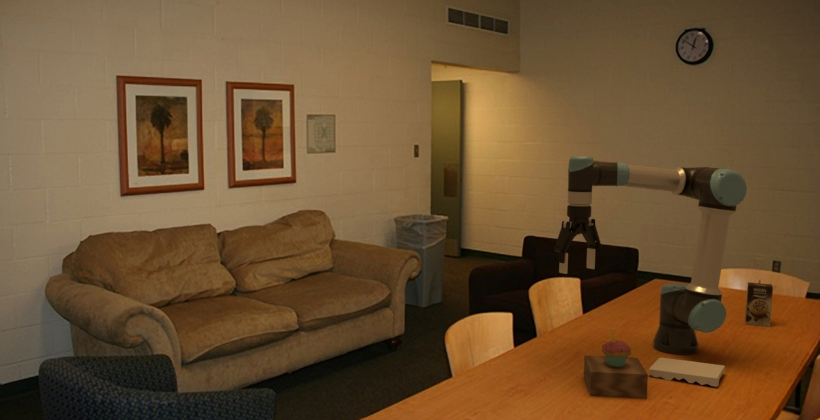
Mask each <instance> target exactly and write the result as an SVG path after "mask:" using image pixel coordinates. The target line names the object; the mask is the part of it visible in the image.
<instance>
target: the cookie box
mask: <svg viewBox="0 0 820 420" xmlns="http://www.w3.org/2000/svg"><path fill="white" fill-rule="evenodd" d="M773 291H774V288H773V284H769V283H759V282H747V291H746V302H745V315H744V324H745V325H749V326H751V325H752V326H761V327H771V317H772V316H771V315H772V304H773V303H772V302H773Z"/></svg>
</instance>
